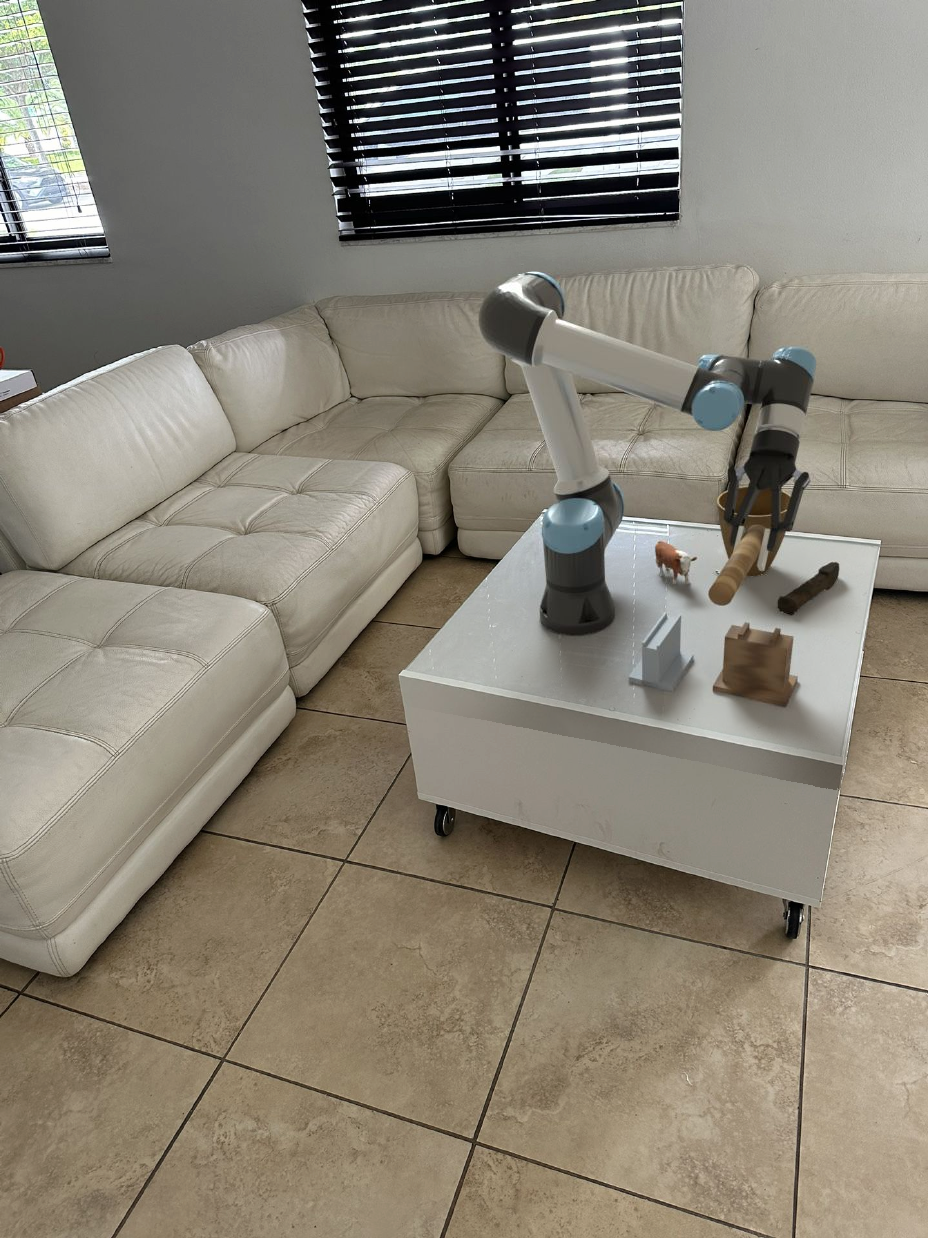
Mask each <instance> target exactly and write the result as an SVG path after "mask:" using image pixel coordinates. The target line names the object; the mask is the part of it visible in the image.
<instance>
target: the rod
mask: <svg viewBox="0 0 928 1238" xmlns="http://www.w3.org/2000/svg"><path fill="white" fill-rule="evenodd" d="M764 532H765V527H764V526H761V525H753V526H751V527H750V528H749V529H748V531H747V532H746V534H745V535H744V537H743V538H742V540H741V541H740V543H739V545H738V546H737V548H736V549H735V551H734V552H733V554H732V555H731V557H730V558H729V559H728V560H727V562H726V563H725V565H724V566H723V568H722V570H721V571H720V573H719V574H718V576H716V579H715V580H714V582H713V583H712V585H711V587H710V588H709V590H708V598H709V600H710V601H711V602H712V603H713V604H714V605H717V606H719V607H720V606H722V607H724V606H727V605H729V604H730V603H731V602H732V600H733V599H734V597H735V595H736V593H737V592H738V590H739V589H740V586H742V583H743V582H744V581H745V579H746V577H747V576H746V575H747V573H748V572H749V570H750V568H751V567H752V565H753V563H754V562H755V560H756V558H757V557H758V555H759V553H760V550H761V546H762V541H763V537H764Z"/></svg>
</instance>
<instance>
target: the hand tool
mask: <svg viewBox="0 0 928 1238" xmlns="http://www.w3.org/2000/svg"><path fill="white" fill-rule="evenodd" d="M839 574H840V563H838V562H837V561H831V562H829V563H827V564H825V565H823V566H821V567H820V568H818V572H817V573H816V574H815V575H814V576H813V577H811V578H810V579H807V580H806V581H805V582H804V583H802V584H801V585H799V586H797V587H796V588H793V590H791V591H790V592H789V593H787V594H785V595H780V596H779V597H778V599H777V602H776V608H777V610H778V611H779V612H780V613H782V612H783V614H785V615H787V614H788V616H794V615H795V613H798V611H799V610H800V608H801V607H803V606H804V605H806V604H807V603H808V602H809V601H811V600H813V599H814V598H815V597H817V596H818V595H820V594H821V593H822V592H824V591H829V590H831V588H833V587H834V585H835V583H836V582H837V581H838V579H839Z"/></svg>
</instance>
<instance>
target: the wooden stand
mask: <svg viewBox="0 0 928 1238" xmlns="http://www.w3.org/2000/svg"><path fill="white" fill-rule="evenodd" d="M781 631H782V629H781V628H778V627H775V628H774V631H773V632H771V631H767V630H761V629H755V628H750V622H746V621H744V622H743V625H742V626H740V625H734V624H731V626H730V627H729V629H728V630H727V632H726V633H725V636H724V647H723V660H722V661H723V662H722V669H721V671H720V673H719V674H718V676H717V677H716V679H715V681H714V683H713V685H712V691H714V692H718V693H722V694H727V695H731V696H735V697H738V698H744V699H747V700H753V701H757V702H761V703H766V704H770V705H775V706H778V707H782V708H786V707H787V705H788V703H789V701H790V698H791V696H792V694H793V692H794V689H795V687H796V684H797V683H798V676H797V675H793V674H790V673H791V671H790V670H791V663H792V655H793V654H792V653H793V646H794V636H793V635H789V634H782V633H781Z"/></svg>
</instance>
